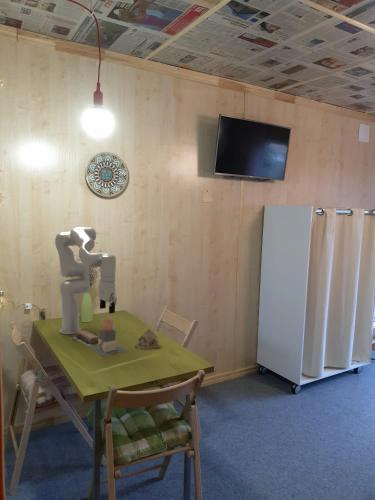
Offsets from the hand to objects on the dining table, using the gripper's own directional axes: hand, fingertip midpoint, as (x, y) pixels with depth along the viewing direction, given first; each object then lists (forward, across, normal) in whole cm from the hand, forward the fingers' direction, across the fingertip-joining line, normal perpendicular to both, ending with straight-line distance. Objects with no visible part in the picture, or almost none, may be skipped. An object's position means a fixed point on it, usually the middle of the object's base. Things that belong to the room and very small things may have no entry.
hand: (107, 310), depth 197 cm
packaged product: (+23, -18, -2) cm, 29 cm away
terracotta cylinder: (+10, +1, 0) cm, 11 cm away
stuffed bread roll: (+22, +9, +20) cm, 31 cm away
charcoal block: (+16, +1, 0) cm, 16 cm away
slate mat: (+22, +1, 0) cm, 22 cm away
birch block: (+20, +1, 0) cm, 21 cm away
